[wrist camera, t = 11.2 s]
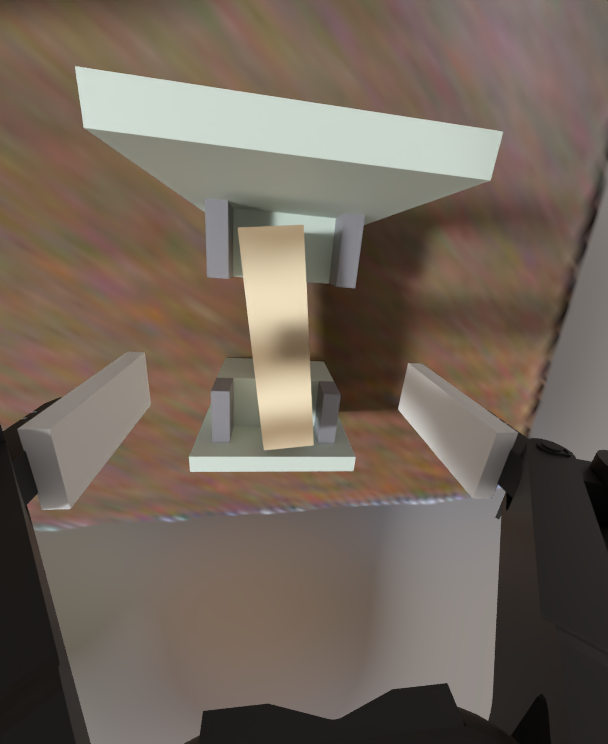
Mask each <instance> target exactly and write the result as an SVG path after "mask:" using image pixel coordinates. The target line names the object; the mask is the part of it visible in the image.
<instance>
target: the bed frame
mask: <svg viewBox="0 0 608 744" xmlns="http://www.w3.org/2000/svg"><path fill="white" fill-rule="evenodd" d="M75 70H76V77H77V83H78V90H79V97H80V104H81V111H82V118H83V125H84V128H85V129H86V130H88V131H89V132H91V133H92V134H93V135H95V136H96V137H98V138H99V139H101V140H102V141H103V142H105V143H106V144H108V145H109V146H111V147H112V148H113V149H115V150H116V151H118V152H119V153H121V154H122V155H123V156H125V157H126V158H128V159H129V160H131V161H132V162H133V163H135V164H136V165H138V166H139V167H141V168H142V169H143V170H145V171H146V172H148V173H149V174H151V175H152V176H154V177H155V178H156V179H158V180H159V181H161V182H162V183H164V184H165V185H166V186H168V187H169V188H171V189H172V190H174V191H175V192H176V193H178V194H179V195H181V196H182V197H184V198H185V199H186V200H188V201H189V202H191V203H192V204H194V205H195V206H196V207H198V208H199V209H201V210H202V211H204V212H205V222H206V254H207V277H212V278H225V279H229V278H231V277H233V276H234V277H243V270H242V262H241V253H240V245H239V236H238V228H240V227H262V226H284V225H304V243H305V265H306V282H313V283H326V284H331V285H333V286H335V287H345V288H355V286H356V279H357V271H358V264H359V256H360V249H361V242H362V234H363V227H364V225H366V224H369V223H372V222H374V221H377V220H380V219H383V218H386V217H389V216H391V215H394V214H397V213H400V212H403V211H405V210H408V209H411V208H414V207H417V206H420V205H422V204H425V203H428V202H431V201H434V200H437V199H439V198H442V197H445V196H448V195H451V194H454V193H456V192H459V191H462V190H465V189H468V188H471V187H473V186H476V185H479V184H482V183H485V182H488V181H490V180H491V177H492V173H493V169H494V165H495V161H496V157H497V153H498V150H499V146H500V142H501V138H502V134H503V132H502V131H496V130H489V129H482V128H476V127H469V126H463V125H456V124H450V123H443V122H437V121H430V120H424V119H417V118H410V117H404V116H397V115H391V114H384V113H378V112H371V111H365V110H358V109H351V108H345V107H338V106H332V105H325V104H319V103H312V102H306V101H299V100H293V99H286V98H279V97H273V96H266V95H260V94H253V93H247V92H240V91H234V90H227V89H220V88H214V87H207V86H201V85H194V84H188V83H181V82H175V81H168V80H162V79H155V78H148V77H142V76H135V75H129V74H122V73H116V72H109V71H103V70H96V69H90V68H83V67H76V66H75ZM310 375H311V397H312V419H313V441H314V445H312V446H302V447H292V448H283V449H273V450H264V448H263V440H262V431H261V423H260V414H259V406H258V397H257V389H256V380H255V372H254V363H253V359H251V358H228V357H226V358H225V361H224V363H223V365H222V367H221V370H220V372H219V374H218V376H217V378H216V381H215V383H214V385H213V387H212V390H211V404H210V407H209V409H208V412H207V414H206V417H205V419H204V422H203V424H202V426H201V429H200V431H199V434H198V436H197V439H196V441H195V443H194V446H193V448H192V451H191V453H190V456H189V463H190V472H240V471H353V470H354V464H355V458H356V456H355V454H354V452H353V450H352V447H351V445H350V443H349V440H348V438H347V436H346V433H345V431H344V429H343V426H342V424H341V422H340V419H339V417H338V413H339V405H340V398H341V394H340V392H339V390H338V388H337V386H336V384H335V382H334V380H333V379H332V377H331V375H330V373H329V371H328V369H327V367H326V365H325V363H324V362H322V361H310Z"/></svg>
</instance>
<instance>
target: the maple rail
mask: <svg viewBox="0 0 608 744" xmlns="http://www.w3.org/2000/svg"><path fill="white" fill-rule="evenodd" d="M238 236H239V245H240V253H241V262H242V270H243V279H244V287H245V296H246V304H247V312H248V321H249V329H250V338H251V346H252V355H253V363H254V372H255V380H256V389H257V397H258V406H259V414H260V423H261V431H262V440H263V448H264V450H273V449H283V448H292V447H302V446H312V445H314V441H313V419H312V397H311V375H310V353H309V331H308V309H307V287H306V265H305V243H304V225H284V226H262V227H240V228H238Z"/></svg>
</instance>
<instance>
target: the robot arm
mask: <svg viewBox="0 0 608 744" xmlns="http://www.w3.org/2000/svg"><path fill="white" fill-rule="evenodd" d="M150 405H151V402H150V394H149V385H148V376H147V368H146V359H145V353H144V352H126V353H125V354H123V355H122V356H121V357H119V358H118V359H116V360H115V361H114V362H112V363H111V364H109V365H108V366H106V367H105V368H104V369H102V370H101V371H99V372H98V373H96V374H95V375H94V376H92V377H91V378H89V379H88V380H86V381H85V382H84V383H82V384H81V385H79V386H78V387H76V388H75V389H74V390H72V391H71V392H69V393H68V394H66V395H65V396H64V397H60V398H57V399H55V400H52V401H50V402H47V403H45V404H43V405H42V406H40V407H39V408H37V409H36V410H34V411H33V413H30V414H28V415H27V416H25V417H24V418H23V420H22V419H21V420H19V421H18V422H16V423H15V424H13V425H12V426H10V427H9V428H7V429H6V430H4V431H2V428H1V425H0V744H91V743H90V739H89V736H88V732H87V728H86V724H85V720H84V717H83V713H82V709H81V705H80V702H79V698H78V694H77V690H76V687H75V683H74V679H73V675H72V672H71V668H70V664H69V660H68V657H67V653H66V649H65V645H64V641H63V638H62V634H61V630H60V627H59V623H58V619H57V615H56V611H55V608H54V604H53V600H52V596H51V593H50V589H49V586H48V581H47V578H46V574H45V570H44V566H43V562H42V559H41V555H40V551H39V548H38V544H37V540H36V536H35V532H34V529H33V525H32V521H31V517H30V514H29V511H28V508H27V504H28V503H29V502H30V501H31V500H32V499H33V498H34V497H35V495H36V494H37V495H38V498H39V502H40V505H41V508H42V510H47V509H71V508H72V506H73V505H74V504H75V502H76V501H77V500H78V498H79V497H80V496H81V495H82V493H83V492H84V491H85V489H86V488H87V487H88V485H89V484H90V483H91V482H92V480H93V479H94V478H95V476H96V475H97V474H98V473H99V471H100V470H101V469H102V467H103V466H104V465H105V463H106V462H107V461H108V460H109V458H110V457H111V456H112V454H113V453H114V452H115V450H116V449H117V448H118V447H119V445H120V444H121V443H122V441H123V440H124V439H125V438H126V436H127V435H128V434H129V432H130V431H131V430H132V428H133V427H134V426H135V425H136V423H137V422H138V421H139V419H140V418H141V417H142V415H143V414H144V413H145V412H146V410H147V409H148V408H149V406H150ZM398 410H399V411H400V412H401V413H402V415H403V416H404V417H405V418H406V419H407V421H408V422H409V423H410V424H411V425H412V427H413V428H414V429H415V430H416V431H417V432H418V434H419V435H420V436H421V437H422V438H423V440H424V441H425V442H426V443H427V444H428V446H429V447H430V448H431V449H432V450H433V452H434V453H435V454H436V455H437V456H438V458H439V459H440V460H441V461H442V462H443V464H444V465H445V466H446V467H447V468H448V470H449V471H450V472H451V473H452V474H453V476H454V477H455V478H456V479H457V480H458V481H459V483H460V484H461V485H462V486H463V487H464V489H465V490H466V491H467V492H468V493H469V495H470V496H471V497H472V498H473V499H486V498H493V496H494V493H495V491H496V488H497V486H498V484H499V485H500V486H501V487H502V488H503V489H504V490H505V491H506V493H505V496H504V498H503V501H502V503H501V505H500V508H499V510H498V513H497V515H496V518H498V519H499V518H500V517H501V516H502V518H501V538H500V559H499V580H498V599H497V620H496V641H495V661H494V682H493V683H494V684H493V699H492V707H491V713H490V717H489V720H488V721H487V720H486V719H484V718H482V717H480V716H478V715H477V714H474V713H472V712H470V711H467V710H465V709H462V708H460V707H457V706H456V703H455V701H454V698H453V696H452V693H451V691H450V689H449V686H448V684H447V683H445V684H436V685H427V686H418V687H410V688H401V689H393V690H391V691H389V692H387V693H385V694H383V695H382V696H380V697H378V698H376V699H374V700H372V701H371V702H369V703H367V704H365V705H363V706H362V707H360V708H358V709H356V710H354V711H353V712H351V713H349V714H347V715H346V716H344V717H342V718H340V719H336V720H331V719H326V718H322V717H318V716H314V715H310V714H307V713H303V712H299V711H295V710H291V709H287V708H283V707H279V706H275V705H271V704H261V705H252V706H244V707H236V708H235V707H234V708H226V709H217V710H208V711H203V716H202V724H201V730H200V735H199V736H197V737H196V738H194V739H192V740H190V741H188V742H186V743H185V744H608V451H607V450H599V451H598V452H597V453H596V455H595V457H594V459H593V461H592V462H590V461H584V460H579V459H576V457H575V456H574V455H573V453H572V452H570V451H569V450H567V449H566V448H564V447H562V446H560V445H558V444H556V443H554V442H551V441H548V440H543V439H538V438H531V439H528V438H526V437H525V436H524V435H522V434H521V433H519V432H518V431H517V430H515V429H514V428H512V427H511V426H510V425H508V424H506V423H505V422H504V421H503V420H501V419H498V417H497V416H496V415H494V414H493V413H491V412H490V411H488V410H486V409H484V408H483V407H482V406H480V405H479V404H477V403H476V402H475V401H473V400H472V399H470V398H469V397H468V396H466V395H465V394H463V393H462V392H461V391H459V390H458V389H456V388H455V387H454V386H452V385H451V384H449V383H448V382H447V381H445V380H444V379H442V378H441V377H440V376H438V375H437V374H435V373H434V372H433V371H431V370H430V369H428V368H427V367H426V366H424V365H423V364H417V363H408V366H407V371H406V375H405V380H404V384H403V389H402V394H401V398H400V403H399V407H398Z"/></svg>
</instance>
